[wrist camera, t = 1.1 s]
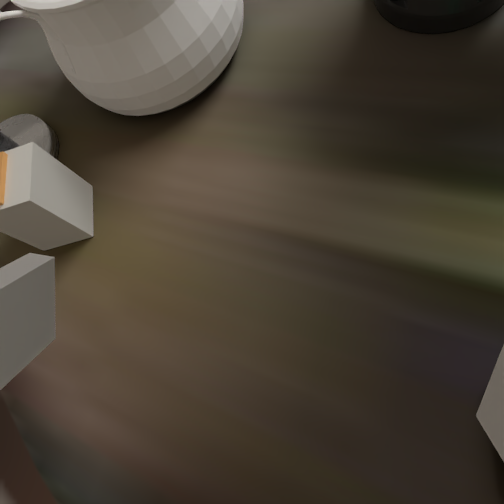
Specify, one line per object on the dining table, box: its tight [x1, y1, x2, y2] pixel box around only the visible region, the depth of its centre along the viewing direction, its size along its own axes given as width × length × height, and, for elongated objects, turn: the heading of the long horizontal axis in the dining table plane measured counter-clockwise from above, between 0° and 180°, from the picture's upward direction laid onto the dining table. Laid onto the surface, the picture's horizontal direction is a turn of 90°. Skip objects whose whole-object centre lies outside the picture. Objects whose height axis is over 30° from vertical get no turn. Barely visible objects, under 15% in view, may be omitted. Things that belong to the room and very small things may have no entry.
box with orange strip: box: [0, 142, 93, 251], centre depth 47 cm, size 7×7×11 cm
